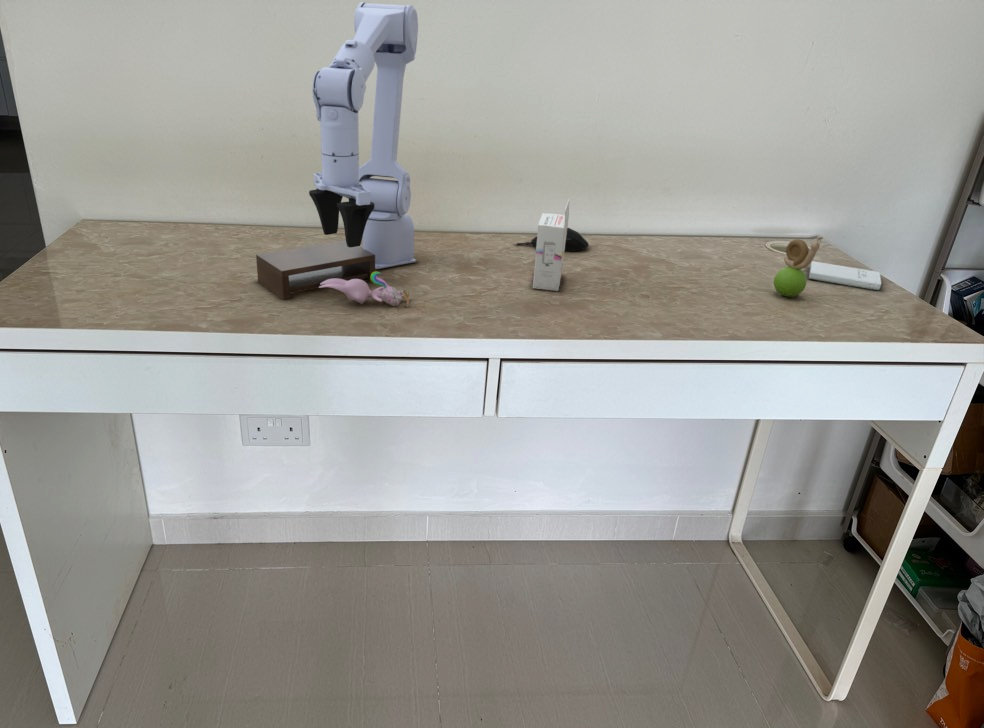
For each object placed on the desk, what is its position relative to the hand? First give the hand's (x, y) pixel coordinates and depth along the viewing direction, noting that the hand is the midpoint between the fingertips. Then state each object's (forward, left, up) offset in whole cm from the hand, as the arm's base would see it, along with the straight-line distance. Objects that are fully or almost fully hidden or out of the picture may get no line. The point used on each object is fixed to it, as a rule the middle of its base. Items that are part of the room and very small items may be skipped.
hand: (341, 239), depth 124 cm
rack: (0, -10, -10) cm, 14 cm away
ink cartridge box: (-36, +11, -10) cm, 39 cm away
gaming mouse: (-53, -5, -10) cm, 54 cm away
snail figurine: (-70, +39, -10) cm, 81 cm away
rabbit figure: (-2, +3, -10) cm, 11 cm away
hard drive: (-89, +39, -10) cm, 98 cm away
